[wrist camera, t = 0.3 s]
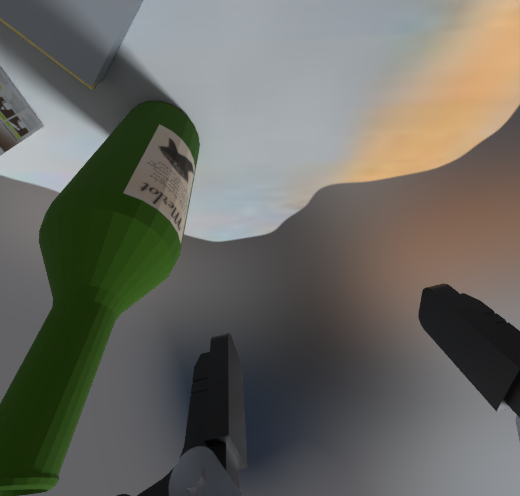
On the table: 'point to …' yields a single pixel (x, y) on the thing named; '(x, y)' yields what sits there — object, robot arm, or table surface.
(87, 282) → the wine bottle
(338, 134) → the table surface
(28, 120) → the coffee box
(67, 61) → the dock
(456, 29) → the table surface
